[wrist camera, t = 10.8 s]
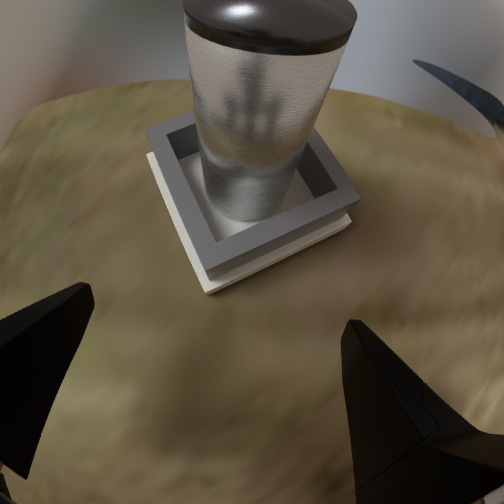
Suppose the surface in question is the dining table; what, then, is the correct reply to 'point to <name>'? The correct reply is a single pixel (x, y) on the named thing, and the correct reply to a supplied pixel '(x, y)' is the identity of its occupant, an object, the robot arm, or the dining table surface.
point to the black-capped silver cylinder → (259, 92)
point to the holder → (246, 233)
